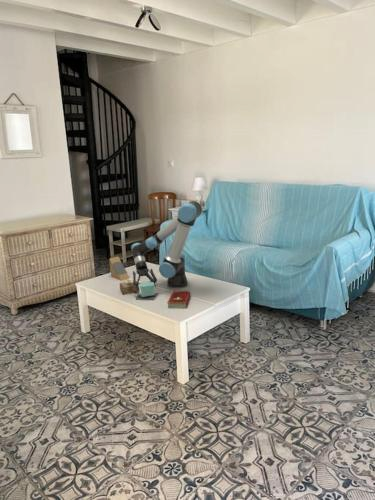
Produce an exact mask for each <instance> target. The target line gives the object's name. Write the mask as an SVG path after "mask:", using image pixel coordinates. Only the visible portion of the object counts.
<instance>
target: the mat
mask: <svg viewBox="0 0 375 500" xmlns="http://www.w3.org/2000/svg"><path fill="white" fill-rule="evenodd" d="M158 294H159V293H158V292H155V295H151V296H145V297H142V296H141V295H140V294H139V293H138V295H137V297H136V298H135V300H138V301H141V300H142V301H143V300H144V301H154V300H155V299H156V297H157V295H158Z"/></svg>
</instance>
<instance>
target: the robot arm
mask: <svg viewBox="0 0 375 500" xmlns="http://www.w3.org/2000/svg"><path fill="white" fill-rule="evenodd" d="M202 211H203V207H202V205H201V204H200V202H198V201H195V200H191V201H188V202H185V203H183V204H182V205H180V207H178V210H177V216H176V217H175V218H174V219H172V220H170V222H169V223H168V224H166V225H165V226H164V227H163V228H162V229H160V230H159V231H158V232H157V233H155V234H154V235H153V236H150V237H148V238H147V239H145V240H143V242H141V243H140V242H135V243H133V244H132V245H131V247H130V248H131V253H132V257H133V260H134V265H135V269H136V270H135V271H134V270H133V271H132V277H133V279H132V280H133V285H134V286H136V287H137V290H139V292H138V294H139V293H140V295H141V288H140V284H138V283H140V280H141V277H146V278H148V281H151V282H152V283H153V284H154V285H155V288H156V287H157V286H156V285H157V284H156V283H157V282H158V279H157V276H156V275H155V273H154V270H153V268H150V269H149V268H148V266H147V262H146V258H145V254H147V253H148V252H150V251H152V250H153V249H155V248H156V247H158V246H160V245H161V244H162V243H163V242H164V241H166V240H167V239H168V238H170V237H171V236H172V235H173V234H174V235H173V237H172V241H171V244H170V247H169V250H168V253H167V254H165V255H164V258H163V260H162V262H161V263H160V264H159V267H158V272H159V273H160V275H161V276H162V277H163V278H166V279H167V280H166V285H167V286H168V287H170V288H184V287H187V286H189V285H188V284H189V281H188V278H187V275H186V258H185V254H183V253H182V252H183V249H184V247H185V245H186V242H187V240H188V236H189V233H190V230H191V227H194V225H195V223H196V221H197V218H199V217H200V216H201V215H202ZM137 274H138V278H137V280H136V275H137ZM135 281H137V283H135ZM156 291H157V290H156V289H155V293H157V292H156Z"/></svg>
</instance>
